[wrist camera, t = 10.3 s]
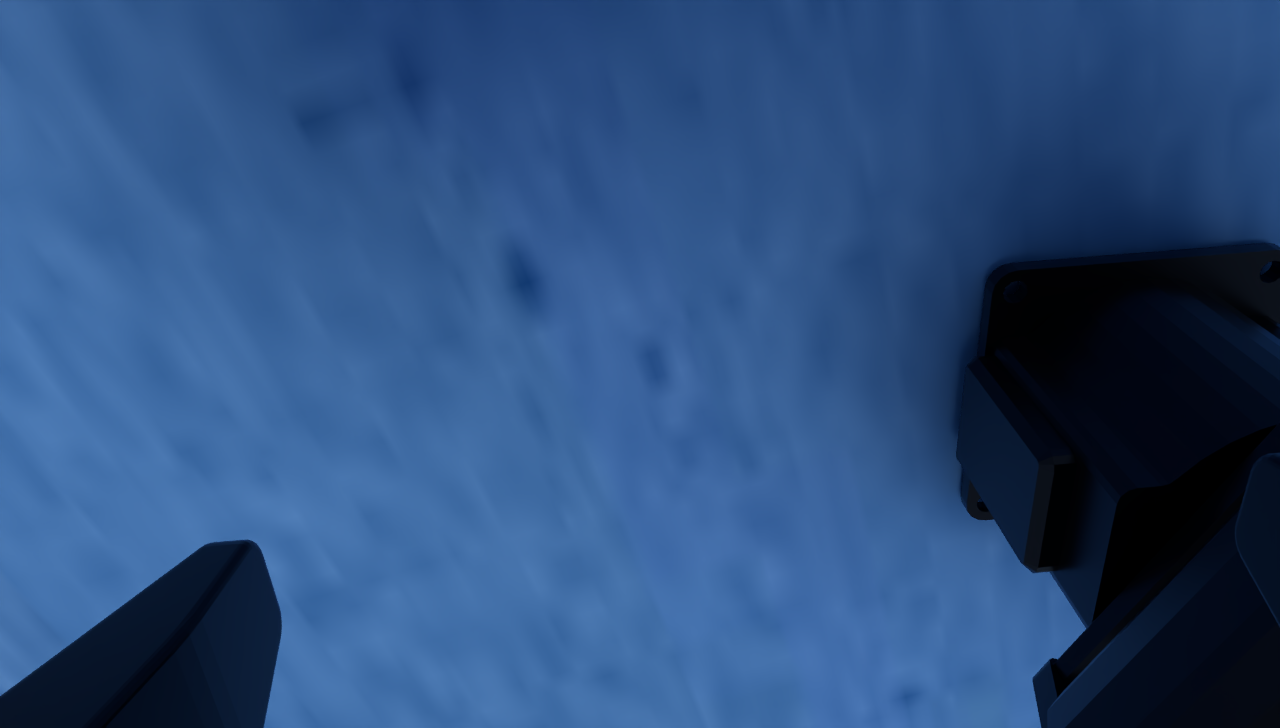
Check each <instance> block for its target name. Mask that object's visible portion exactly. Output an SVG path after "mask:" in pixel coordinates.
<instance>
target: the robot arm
mask: <svg viewBox="0 0 1280 728" xmlns="http://www.w3.org/2000/svg"><path fill="white" fill-rule="evenodd" d="M1268 262H1272V265H1271V267H1270V268H1269V270H1268V271H1266V272H1265V273H1264V274H1262V275H1260V271H1261V269H1262V268H1263V266H1265V265H1266V264H1267V263H1268ZM1015 281H1020V285H1019V288H1018V290H1016V291H1015V292H1014V293H1013V294H1011V295H1007V296H1006V295H1004V294H1003V293H1004V290H1005V288H1006V287H1007V286H1008V285H1009V284H1010V283H1012V282H1015ZM956 456H957V460H958V461H959V463H960V464H961V466H962V468H963V469H964V473H963V481H962V490H961V500H962V503H963V504H964V506H965V508H966V510H967V511H968V513H969V514H970V515H971V517H973V518H976V519H978V520H993V519H994V520H995V521H996V523H997V525H998V526H999V528H1000V529H1001V531H1002V533H1003V534H1004V536H1005V538H1006V539H1007V541H1008V542H1009V544H1010V546H1011V547H1012V549H1013V551H1014V552H1015V554H1016V555H1017V557H1018V559H1019V560H1020V562H1021V563H1022V564H1023V565H1024V566H1025V567H1026V568H1028V569H1029V570H1030V571H1031V572H1032V573H1040V572H1050V573H1051V575H1052V576H1053V578H1054V579H1055V581H1056V582H1057V584H1058V586H1059V587H1060V589H1061V590H1062V592H1063V593H1064V595H1065V596H1066V598H1067V600H1068V601H1069V603H1070V604H1071V606H1072V607H1073V609H1074V610H1075V612H1076V613H1077V615H1078V617H1079V618H1080V620H1081V621H1082V623H1083V624H1084V626H1085V627H1086V630H1085V631H1084V632H1083V633H1082V634H1081V635H1080V636H1079V637H1078V638H1077V640H1076V641H1075V642H1074V643H1073V644H1072V645H1071V646H1070V647H1069V648H1068V649H1067V650H1066V651H1065V652H1064V653H1063V655H1062V656H1061V657H1060V658H1059V659H1054V658H1052V659H1050V660H1049V661H1048V662H1047V663H1046V664H1045V665H1044V666H1043V667H1042V668H1041V669H1040V670H1039V672H1038V673H1037V674H1036V675H1035V676H1034V677H1033V685H1034V691H1035V696H1036V701H1037V707H1038V712H1039V717H1040V723H1041V728H1280V247H1278V246H1277V245H1275V244H1269V243H1260V244H1248V245H1235V246H1222V247H1209V248H1197V249H1184V250H1171V251H1158V252H1146V253H1133V254H1120V255H1107V256H1095V257H1082V258H1069V259H1057V260H1044V261H1031V262H1018V263H1009V264H1005V265H1002V266H1000V267H999V268H997V269H996V270H994V271H993V272H992V273H991V275H990V276H989V277H988V279H987V282H986V285H985V292H984V300H983V309H982V318H981V326H980V335H979V343H978V352H977V356H975V357H974V358H973V359H972V360H971V362H970V363H969V364H968V365H967V367H966V370H965V379H964V388H963V397H962V406H961V416H960V425H959V434H958V443H957V452H956ZM980 498H981V499H982V500H983V501H982V502H978V500H979V499H980ZM281 629H282V621H281V612H280V608H279V604H278V601H277V598H276V595H275V592H274V588H273V585H272V582H271V579H270V576H269V572H268V569H267V566H266V563H265V560H264V557H263V554H262V551H261V549H260V548H259V546H258V545H257V544H256V543H255V542H253V541H251V540H236V541H224V542H213V543H209V544H206V545H204V546H203V547H201V548H200V549H198V550H197V551H195V552H194V553H193V554H191V555H190V556H189V557H187V558H186V559H185V560H183V561H182V562H181V563H179V564H178V565H177V566H175V567H174V568H173V569H171V570H170V571H168V572H167V573H166V574H164V575H163V576H162V577H160V578H159V579H158V580H156V581H155V582H154V583H152V584H151V585H150V586H148V587H147V588H146V589H144V590H143V591H142V592H140V593H139V594H137V595H136V596H135V597H133V598H132V599H131V600H129V601H128V602H127V603H125V604H124V605H123V606H121V607H120V608H119V609H117V610H116V611H115V612H113V613H112V614H111V615H109V616H108V617H106V618H105V619H104V620H102V621H101V622H100V623H98V624H97V625H96V626H94V627H93V628H92V629H90V630H89V631H88V632H86V633H85V634H84V635H82V636H81V637H80V638H78V639H77V640H75V641H74V642H73V643H71V644H70V645H69V646H67V647H66V648H65V649H63V650H62V651H61V652H59V653H58V654H57V655H55V656H54V657H53V658H51V659H50V660H48V661H47V662H46V663H44V664H43V665H42V666H40V667H39V668H38V669H36V670H35V671H34V672H32V673H31V674H30V675H28V676H27V677H26V678H24V679H23V680H21V681H20V682H19V683H17V684H16V685H15V686H13V687H12V688H11V689H9V690H8V691H7V692H5V693H4V694H3V695H1V696H0V728H264V723H265V718H266V713H267V707H268V702H269V697H270V691H271V686H272V681H273V676H274V670H275V665H276V660H277V654H278V649H279V644H280V639H281Z"/></svg>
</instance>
